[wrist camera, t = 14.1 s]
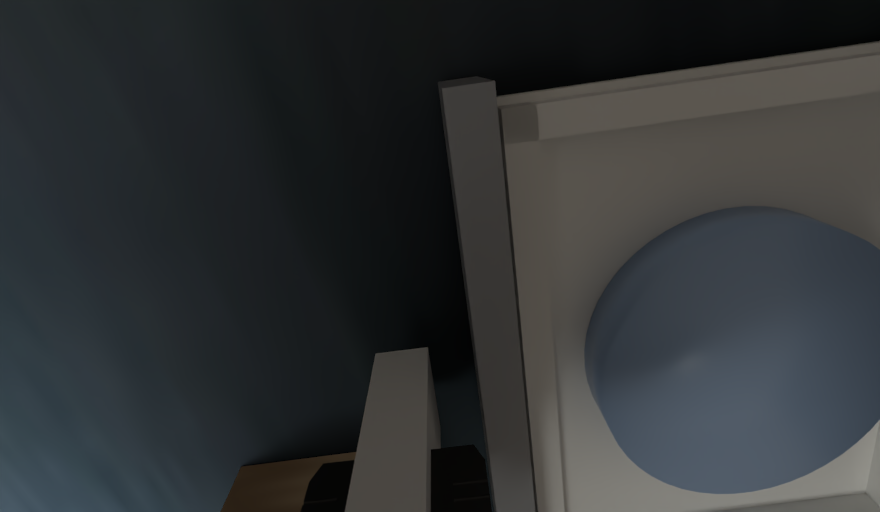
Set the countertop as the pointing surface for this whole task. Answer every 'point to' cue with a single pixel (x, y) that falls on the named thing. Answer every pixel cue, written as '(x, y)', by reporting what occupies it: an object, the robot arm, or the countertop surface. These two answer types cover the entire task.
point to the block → (276, 484)
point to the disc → (739, 349)
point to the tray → (638, 246)
